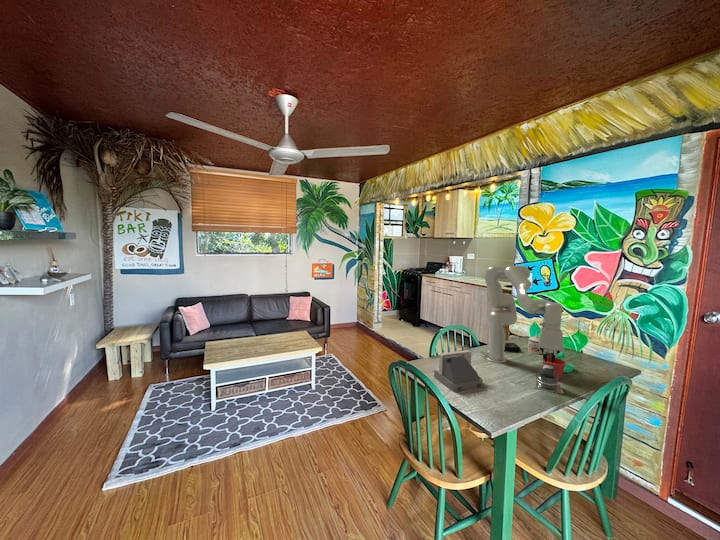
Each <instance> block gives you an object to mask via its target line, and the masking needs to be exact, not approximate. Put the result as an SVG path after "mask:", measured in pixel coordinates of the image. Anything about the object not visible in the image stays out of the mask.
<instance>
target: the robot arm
mask: <svg viewBox="0 0 720 540" xmlns="http://www.w3.org/2000/svg"><path fill="white" fill-rule="evenodd" d="M530 276H531V271H530V269H529V267H527V266H525V265H493V266H489V267H488V268H487V269H486V270H485V272H484V282H485V284H486V289H487V296H488V297H487V298H488V303H489V306H490V307H491V308H492V309H502V310H493V311H491V312H490V313H488V316H487V317H488V318H487V319H488V329H489V330H488V345H487V350H481V349H480V350H479V351H480V353H479V354H481V355H482V356H483V355H484V358H485V359H486V360H487V361H489V362H491V361H492V363H497V364H504V363H506V362H507V358H506V357H505V351H504V350H505V343H506V331H505V328H504V326H512V325H515V324H516V323H517V319H518V315H517V307H516V300H515V298H514V296H513V295H512V294H510V293H507V292H504V291H503V287H502V284H501V283H500V282H499V280H508V281H509V282H510V283H511V285H512V286H513V287H514V289H515V290H516V299H517V303H518V304H519V305H520V307H521V308H522V309H523V310H524V312H526V313H528V314H530V315H537V314H539V315H541V314H543V321H542V323H541V322H540V323H539V326H541V327H540V332H539V335H538V337H539V342H538V343H537V344H536V348H538V349H540V350H541V351H542V360H543V359H544V361H545V362H547V357H548V353H547V350H552V352H551V356H550V357H551V362H552V363H554V361H555V356H556V355H557V354H558V353H560V352H562V353H564V352H565V351H566V350H565V348H564V335H563V330H562V329H561V326H562V325H561V324H562V315H563V305H562V304H561V303H559V302H553V301H550V300H549V299H532V298H531V297H530V296H529V295H528V293H527V291H529V290H530V288H532V286H533V284H532V282H531V281H530V279H529V277H530ZM503 292H504V293H503Z"/></svg>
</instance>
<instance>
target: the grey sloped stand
mask: <svg viewBox="0 0 720 540" xmlns="http://www.w3.org/2000/svg"><path fill="white" fill-rule="evenodd" d="M438 363H439V364H438V365H439V366H437V367H435V368H434V369H433V378H434V379H436V380H437V381H438V382H440V383H441V385H444V386H445V387H446V388H448V389H449V390H450V391H452V392H461V391H466V390H467V391H468V390H471V389H477V388H481V387H483V381H484V380H483V378H482V377H480V376H479V374H478V372H477V371H476V369H475V368H474V367H473V366H472V364H471V363H472V352H471V351H470V350H468V349H467V350H466V349H465V350H457V351H450V352H442V353H440V354H439V361H438Z"/></svg>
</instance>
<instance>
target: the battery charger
mask: <svg viewBox="0 0 720 540" xmlns="http://www.w3.org/2000/svg"><path fill="white" fill-rule="evenodd" d="M505 351H508V352H507V353H521V347H520V346H519V345H518V344H516V342H515V343H513V342H505V350H504V352H505Z"/></svg>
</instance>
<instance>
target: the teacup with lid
mask: <svg viewBox="0 0 720 540" xmlns="http://www.w3.org/2000/svg"><path fill="white" fill-rule="evenodd" d="M538 342H539V335H534V336H531V337H528V343H527V348H528V349H527V352H529V353H531V354H535V355H543V352H542V351H541V350H540V349H538V348H536V344H537V343H538Z"/></svg>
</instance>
